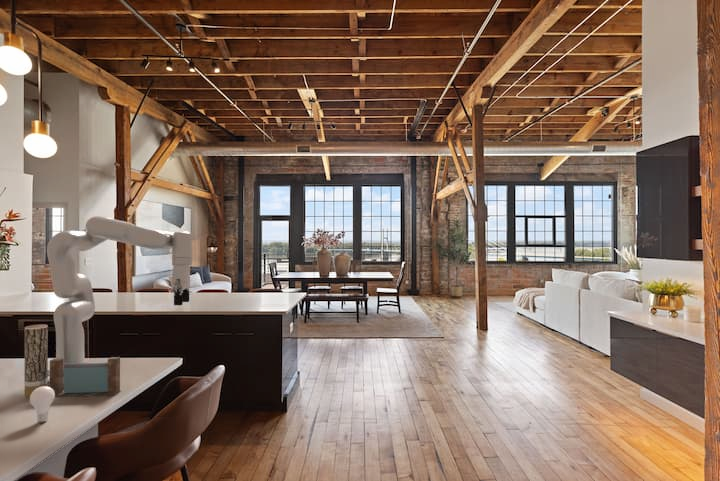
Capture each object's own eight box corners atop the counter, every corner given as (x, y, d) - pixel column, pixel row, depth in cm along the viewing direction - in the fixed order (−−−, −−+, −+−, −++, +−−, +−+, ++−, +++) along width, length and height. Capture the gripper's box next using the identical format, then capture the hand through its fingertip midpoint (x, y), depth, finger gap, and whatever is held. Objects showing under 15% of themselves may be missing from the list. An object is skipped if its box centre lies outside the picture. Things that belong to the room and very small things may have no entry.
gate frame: (48, 397, 160) (48, 361, 160) (55, 393, 164) (55, 358, 164) (115, 395, 162) (115, 359, 162) (120, 391, 166) (120, 356, 166)
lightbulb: (38, 418, 141) (38, 383, 141) (59, 417, 141) (59, 383, 141) (24, 426, 134) (24, 390, 134) (47, 426, 135) (47, 389, 135)
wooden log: (22, 399, 157) (22, 328, 157) (26, 393, 163) (26, 325, 163) (46, 396, 161) (46, 326, 161) (48, 390, 167) (49, 323, 167)
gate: (61, 393, 161) (61, 364, 161) (64, 391, 163) (64, 363, 163) (107, 391, 163) (107, 363, 163) (109, 390, 164) (109, 361, 164)
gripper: (178, 260, 191) (178, 300, 191) (165, 262, 174) (165, 306, 174) (196, 260, 192) (196, 300, 192) (185, 262, 175) (185, 306, 175)
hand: (181, 303), depth 183 cm, fingers open, 9 cm apart
